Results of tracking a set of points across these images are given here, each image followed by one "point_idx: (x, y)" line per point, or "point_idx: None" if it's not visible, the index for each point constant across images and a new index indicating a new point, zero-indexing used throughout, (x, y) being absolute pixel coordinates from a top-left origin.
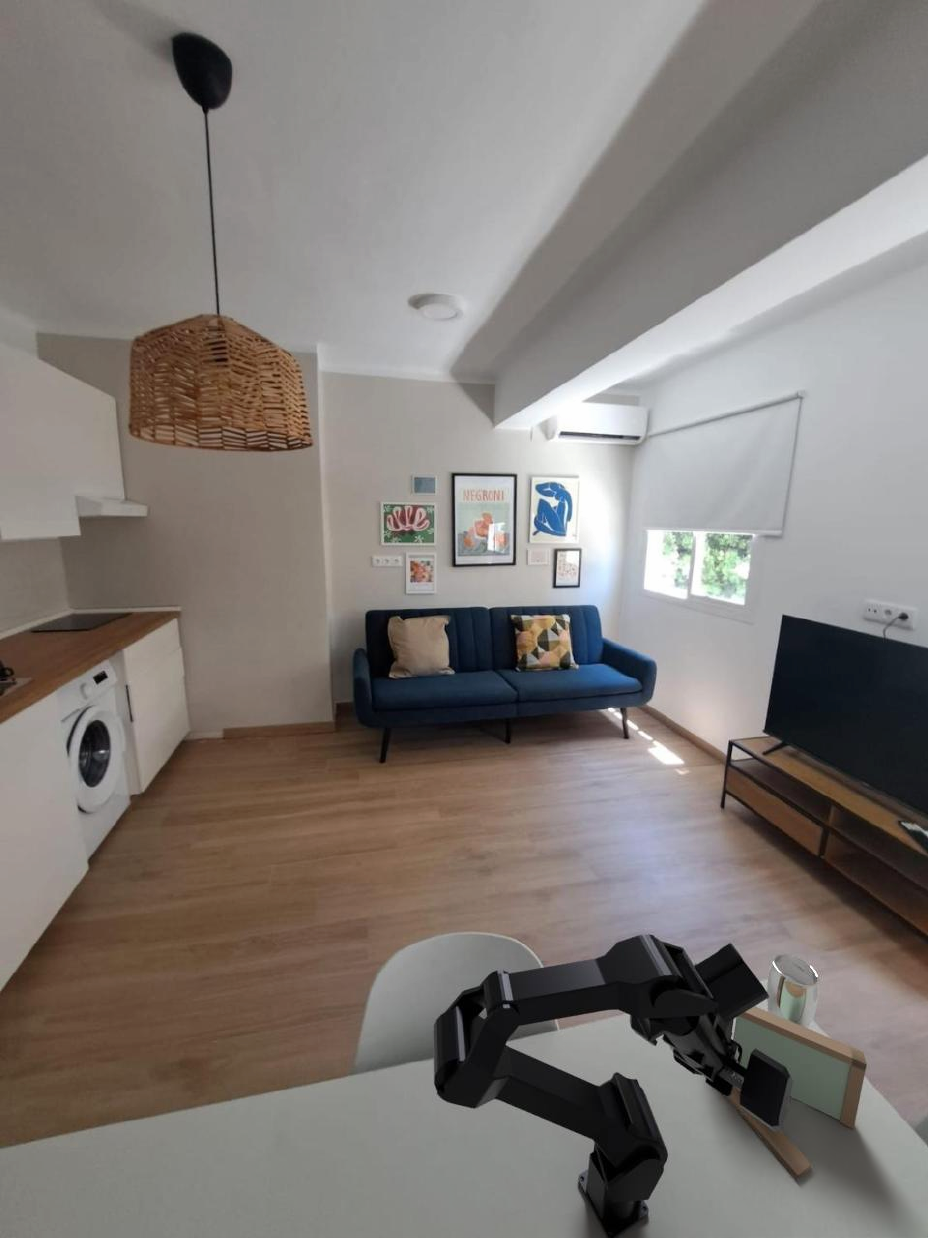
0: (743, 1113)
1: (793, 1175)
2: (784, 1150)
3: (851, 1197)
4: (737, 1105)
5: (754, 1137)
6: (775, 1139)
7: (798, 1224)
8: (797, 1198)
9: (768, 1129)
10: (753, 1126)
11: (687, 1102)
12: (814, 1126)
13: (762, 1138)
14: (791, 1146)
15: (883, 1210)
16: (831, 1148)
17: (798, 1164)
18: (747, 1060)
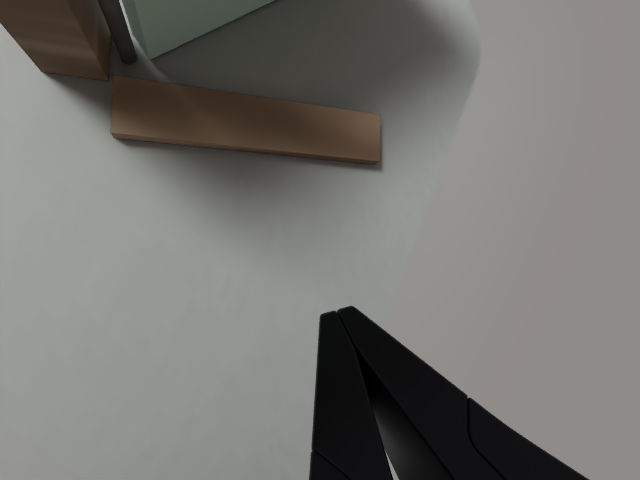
0: (251, 148)
1: (367, 163)
2: (342, 139)
3: (426, 99)
4: (233, 145)
5: (289, 168)
6: (321, 136)
7: (412, 233)
8: (390, 194)
9: (302, 129)
10: (279, 152)
11: (158, 256)
12: (332, 23)
13: (301, 155)
14: (343, 117)
15: (455, 70)
16: (369, 40)
17: (369, 139)
18: (182, 10)
